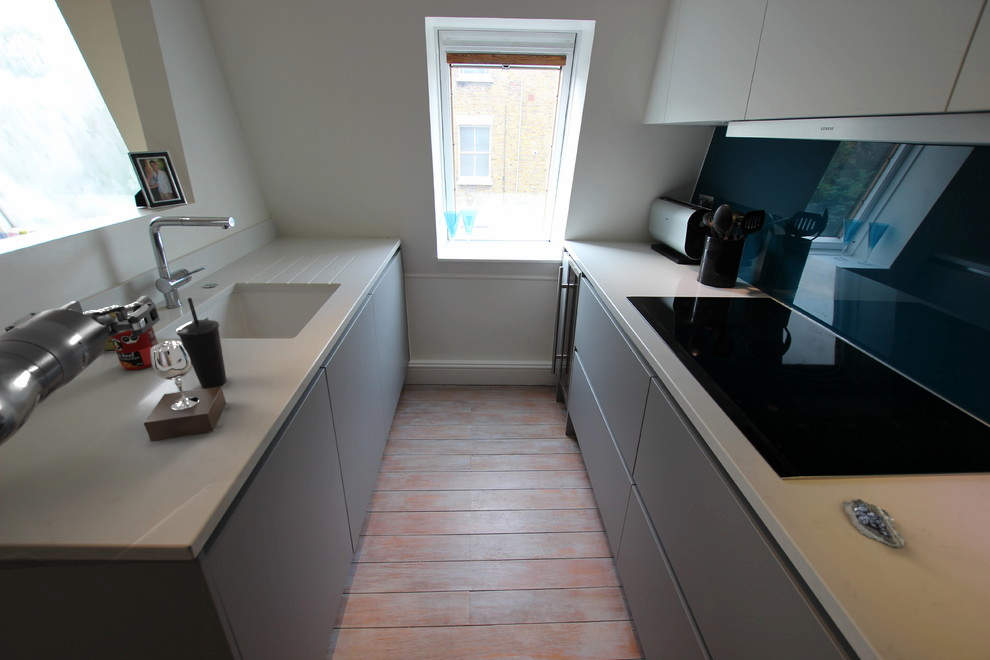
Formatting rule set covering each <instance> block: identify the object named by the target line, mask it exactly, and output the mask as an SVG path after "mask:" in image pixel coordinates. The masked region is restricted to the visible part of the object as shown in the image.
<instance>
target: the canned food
mask: <svg viewBox="0 0 990 660" xmlns="http://www.w3.org/2000/svg"><path fill="white" fill-rule="evenodd" d="M116 320H117V319H116ZM117 322H118V320H117ZM110 338H111V340H112V343H113V346H114V348H115V350H114V351H115V354H116V357H117V358H118V361H119V364H120V366H121V367H122V368H123V370H126V371H138V370H144V369H147V368H150V367H152V365H151V357H150V349H151V348H152V347H153V346H155V345H157V344H159V343H158V340H157V336H156V333H155V330H154V328H153V326H152V327H151V328H149V329H148V330H147V331H146V332H145V333H143V334H141V335H139V336H133V335H132V332H131V330H127V331H124V332H121V333H118V334H117V335H115V336H112V337H110Z"/></svg>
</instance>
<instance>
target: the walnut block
mask: <svg viewBox="0 0 990 660" xmlns="http://www.w3.org/2000/svg"><path fill="white" fill-rule="evenodd" d="M183 394H184V396H185V397H197V398H198V399H199V402H198V403H197V404H196V405H194V406H192V407H190V408H187V409H184V410H173V409H172V408H171V405H172V404H173V403H174V402H176V401H178V400H180V399H181V394H180V391H176V392H169V393H164V394H163V395H162V397H161V398H160V399H159V401H158V402H157V404H156V405H155V407H154V408H153V409H152V410H151V412H150V413H149V414H148V416H147V417H146V419H145V420H144V421H143V426H144V428H145V430H146V433H147V436H148V439H149V441H150V442H154V441H161V440H162V441H163V440H168V439H174V438H181V437H186V436H193V435H199V434H207V433H213V432H214V430H215V429H216V426H217V424H218V422H219V421H220V417H221V415H222V413H223V411H224V409H225V407H226V405H227V401H226V398H225V394H224V390H223V387H222V386H220V387H214V388H206V389H204V388H200V389H192V390H185V391H184V390H183Z"/></svg>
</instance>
